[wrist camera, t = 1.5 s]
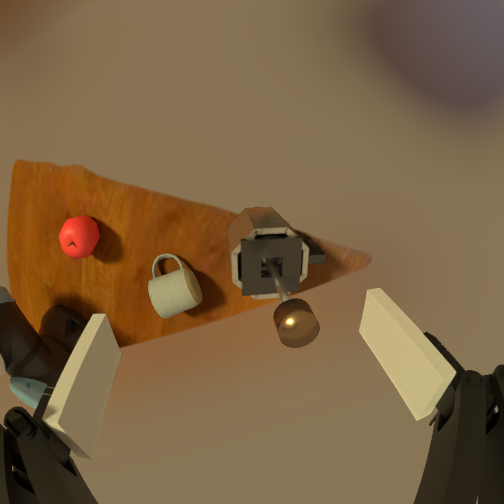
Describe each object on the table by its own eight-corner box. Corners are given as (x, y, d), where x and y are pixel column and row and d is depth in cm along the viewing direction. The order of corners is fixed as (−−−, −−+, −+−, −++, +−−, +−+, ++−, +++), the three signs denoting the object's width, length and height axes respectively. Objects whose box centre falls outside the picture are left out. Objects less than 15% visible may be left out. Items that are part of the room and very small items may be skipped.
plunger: (243, 282, 42) (260, 364, 26) (241, 235, 39) (260, 303, 23) (291, 279, 43) (330, 354, 27) (293, 233, 40) (342, 294, 24)
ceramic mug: (205, 290, 53) (204, 312, 46) (169, 304, 54) (164, 326, 46) (181, 244, 49) (176, 260, 42) (144, 260, 50) (133, 278, 42)
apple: (64, 223, 44) (43, 237, 37) (91, 202, 44) (71, 214, 36) (84, 256, 47) (67, 274, 40) (112, 238, 47) (96, 255, 40)
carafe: (229, 265, 52) (233, 304, 40) (226, 208, 48) (230, 232, 36) (301, 260, 53) (325, 295, 41) (304, 205, 49) (333, 227, 37)
